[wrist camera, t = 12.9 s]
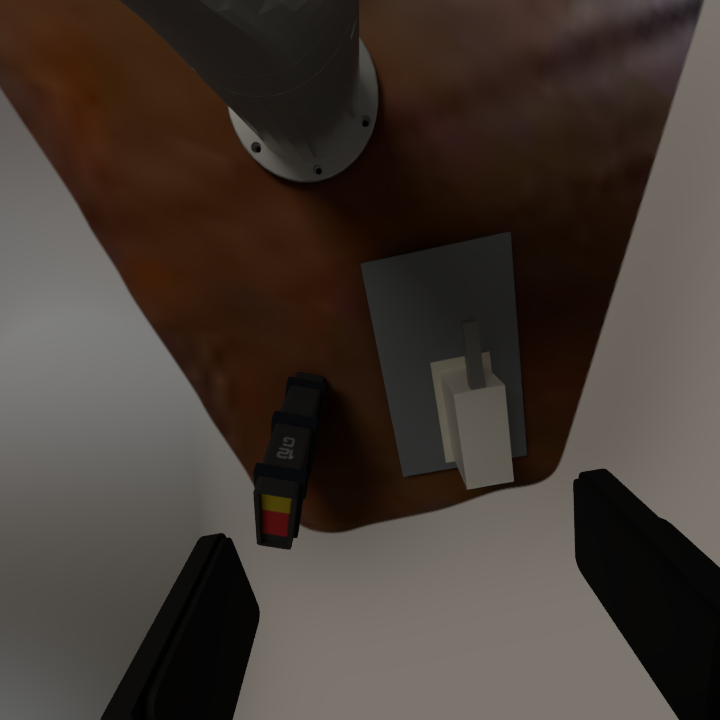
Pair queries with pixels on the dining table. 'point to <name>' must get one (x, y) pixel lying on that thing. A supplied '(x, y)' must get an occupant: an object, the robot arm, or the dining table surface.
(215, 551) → the robot arm
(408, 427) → the board
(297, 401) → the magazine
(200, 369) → the dining table surface
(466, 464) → the plug
